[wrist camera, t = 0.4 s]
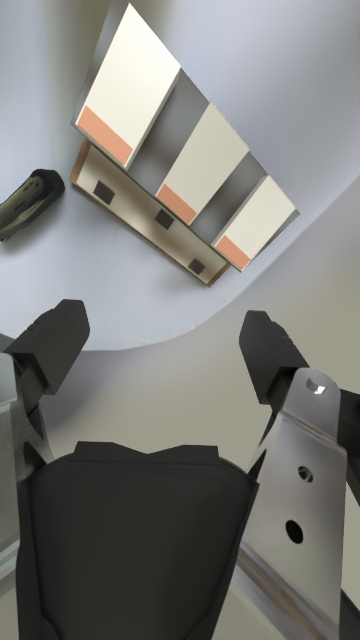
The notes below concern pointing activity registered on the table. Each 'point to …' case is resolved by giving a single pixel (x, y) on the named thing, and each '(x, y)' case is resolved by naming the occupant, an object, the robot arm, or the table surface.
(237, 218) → the cream box
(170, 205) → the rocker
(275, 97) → the table surface
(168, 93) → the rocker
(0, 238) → the mobile phone
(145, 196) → the switch box
